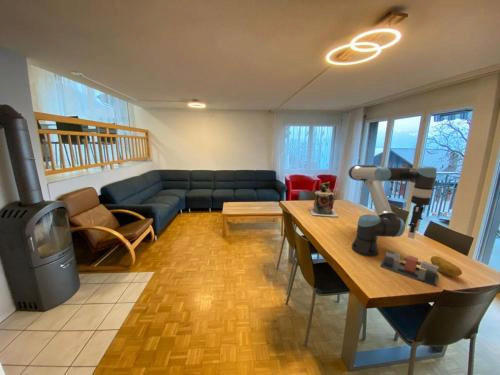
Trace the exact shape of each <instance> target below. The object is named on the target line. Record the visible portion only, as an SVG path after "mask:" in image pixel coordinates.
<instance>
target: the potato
mask: <svg viewBox="0 0 500 375" xmlns="http://www.w3.org/2000/svg"><path fill="white" fill-rule="evenodd" d="M430 264H433V265H436V266H438V267H439V270H438V272H439V273H441V274H444V275H447V276H449V277H459V276H461V275H463V270H462V269H461V268H460V267H459V266H457V265H455V263H452V262H450V261H449V260H446V259H445V258H443V257H441V256H439V255H433V256H431V257H430Z"/></svg>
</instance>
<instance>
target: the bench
mask: <svg viewBox="0 0 500 375" xmlns="http://www.w3.org/2000/svg"><path fill="white" fill-rule="evenodd" d="M400 257H401V253H399V252H394V251H392V250H391V251H390V250H387V249H386V250H385V257H384V259H383V260H382V262H381V264H380V265H379V266H380V268H383V269H385V270H388V271H391V272H394V273H396V274H400V275H402V276H405V277H408V278H411V279H413V280H416V281H419V282H422V283H424V284H427V285H430V286H432V287H435V288H438V282H439V274H438V273H439V267H438V266H436V265H433V264H432V263H431V262H427V261H425V260H422V262H421V265H420V267H417V266H416V270H415V273H413V272H410V271H407V270H404V268H405V263H406V262H403V261H400V259H401V258H400Z"/></svg>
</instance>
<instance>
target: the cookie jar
mask: <svg viewBox="0 0 500 375" xmlns="http://www.w3.org/2000/svg"><path fill="white" fill-rule="evenodd" d="M314 195H315V196H314V202H313V207H309V208H308V209H309V210H310V211H309V212H310V213H311V214H310V215H312V216H320V217H331V218H337V217H339V214H338V213H337V212H336V211H335V210H334V204H335V201H336V197H334V196H335V193H334V192H332V191H331V190H330V181H328V182H322V183H320V185H319V190H316V191H315V192H314Z"/></svg>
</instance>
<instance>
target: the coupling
mask: <svg viewBox="0 0 500 375" xmlns="http://www.w3.org/2000/svg"><path fill="white" fill-rule="evenodd" d="M402 261H405V262H404V263H405V268H404V270H407V271H410V272H413V273H415V270H416V267H417V266H421V263H422V262H421V261H419V258H418V257H415V256H412V255H409V254H407V256H402Z"/></svg>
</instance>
